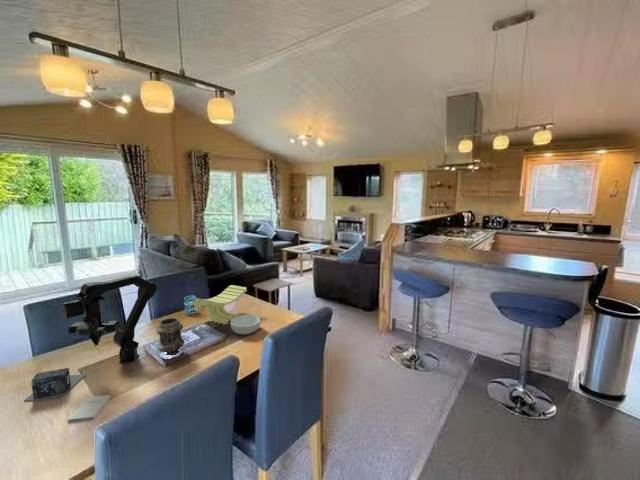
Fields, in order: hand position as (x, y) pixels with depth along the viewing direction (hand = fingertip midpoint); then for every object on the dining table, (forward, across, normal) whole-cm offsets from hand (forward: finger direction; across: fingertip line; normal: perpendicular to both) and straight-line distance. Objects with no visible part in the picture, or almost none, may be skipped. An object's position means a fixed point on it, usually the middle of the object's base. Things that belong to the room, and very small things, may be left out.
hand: (96, 344), depth 136 cm
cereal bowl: (+13, +61, +34) cm, 71 cm away
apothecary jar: (+13, +27, +12) cm, 32 cm away
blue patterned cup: (+13, +21, +67) cm, 71 cm away
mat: (+13, -11, -10) cm, 20 cm away
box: (+9, -5, -12) cm, 15 cm away
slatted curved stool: (+13, +44, +55) cm, 72 cm away
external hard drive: (+14, +11, -25) cm, 31 cm away
